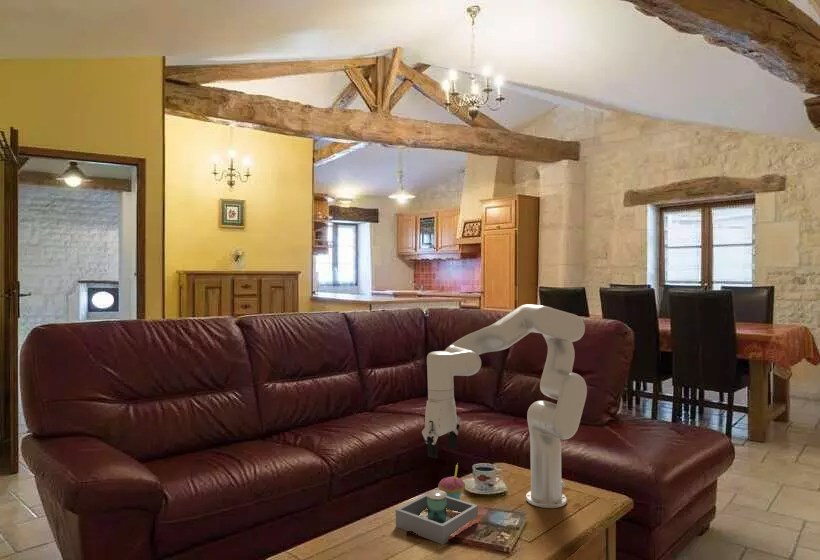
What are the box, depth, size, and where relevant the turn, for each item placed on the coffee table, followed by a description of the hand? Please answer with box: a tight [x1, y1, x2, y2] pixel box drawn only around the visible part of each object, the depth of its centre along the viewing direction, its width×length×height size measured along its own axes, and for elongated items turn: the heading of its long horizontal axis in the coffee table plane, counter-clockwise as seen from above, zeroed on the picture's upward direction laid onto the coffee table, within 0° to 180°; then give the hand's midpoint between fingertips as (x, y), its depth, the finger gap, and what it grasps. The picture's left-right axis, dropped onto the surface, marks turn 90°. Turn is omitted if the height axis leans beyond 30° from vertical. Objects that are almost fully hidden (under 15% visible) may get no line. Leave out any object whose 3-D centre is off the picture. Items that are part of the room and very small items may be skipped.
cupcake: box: [437, 462, 466, 500], centre depth 181 cm, size 9×8×12 cm
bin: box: [395, 493, 479, 546], centre depth 164 cm, size 17×17×5 cm
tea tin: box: [426, 489, 447, 523], centre depth 163 cm, size 6×6×8 cm
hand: (442, 452), depth 164 cm, fingers open, 9 cm apart
